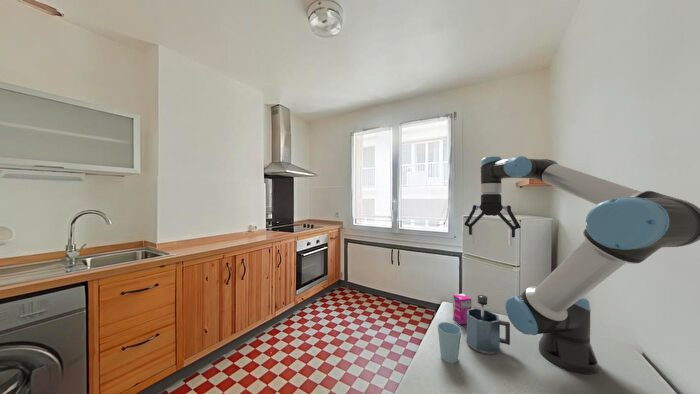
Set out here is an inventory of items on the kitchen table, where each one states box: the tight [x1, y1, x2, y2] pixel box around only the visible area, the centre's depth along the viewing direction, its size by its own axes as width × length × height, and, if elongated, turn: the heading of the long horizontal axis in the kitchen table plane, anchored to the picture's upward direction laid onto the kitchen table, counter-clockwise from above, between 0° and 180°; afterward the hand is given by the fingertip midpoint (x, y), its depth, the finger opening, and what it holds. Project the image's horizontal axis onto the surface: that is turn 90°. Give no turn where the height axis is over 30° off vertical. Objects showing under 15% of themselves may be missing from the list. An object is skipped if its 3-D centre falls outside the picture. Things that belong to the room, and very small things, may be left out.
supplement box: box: [452, 293, 472, 326], centre depth 106 cm, size 6×6×12 cm
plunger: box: [477, 294, 488, 321], centre depth 88 cm, size 8×8×16 cm
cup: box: [437, 321, 462, 364], centre depth 81 cm, size 8×8×10 cm
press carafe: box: [466, 307, 511, 356], centre depth 88 cm, size 14×11×12 cm
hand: (490, 243), depth 99 cm, fingers open, 13 cm apart
